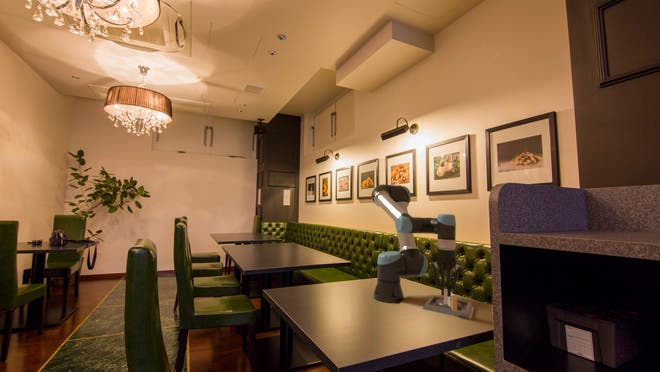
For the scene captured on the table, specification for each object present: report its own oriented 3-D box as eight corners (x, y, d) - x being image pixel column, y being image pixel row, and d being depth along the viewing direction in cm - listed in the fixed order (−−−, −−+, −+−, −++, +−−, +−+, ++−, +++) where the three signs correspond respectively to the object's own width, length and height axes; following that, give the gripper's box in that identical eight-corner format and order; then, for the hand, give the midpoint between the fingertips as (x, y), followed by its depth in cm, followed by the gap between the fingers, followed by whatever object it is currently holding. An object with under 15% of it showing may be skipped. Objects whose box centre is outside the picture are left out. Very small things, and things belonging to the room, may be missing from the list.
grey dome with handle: (433, 303, 138) (433, 287, 138) (458, 305, 136) (457, 289, 136) (441, 315, 121) (441, 297, 122) (468, 318, 119) (468, 299, 120)
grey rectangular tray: (421, 311, 128) (421, 304, 129) (430, 301, 144) (430, 294, 144) (471, 321, 118) (471, 313, 119) (474, 309, 134) (474, 302, 134)
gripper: (429, 248, 127) (428, 302, 125) (461, 251, 120) (461, 309, 118) (432, 246, 133) (432, 298, 131) (463, 249, 127) (463, 304, 124)
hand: (446, 303), depth 125 cm, fingers closed
